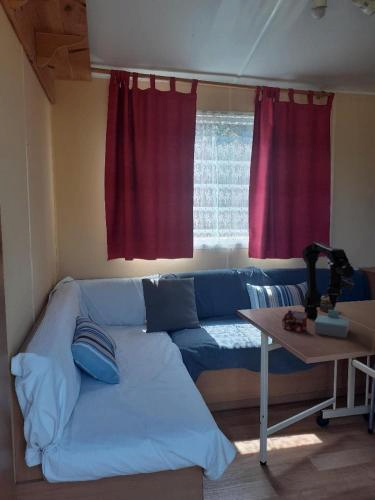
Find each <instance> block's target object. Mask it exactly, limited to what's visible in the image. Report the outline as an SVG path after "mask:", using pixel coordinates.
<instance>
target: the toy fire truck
mask: <svg viewBox="0 0 375 500" xmlns="http://www.w3.org/2000/svg"><path fill="white" fill-rule="evenodd" d="M307 317H308V314H307V313H306V312H305V311H296V310H294V311H293V310H291V309H289V310H288V311H287V312H286V313H285V314H284V316H283V318H282V321H281V322H282V323H281V324H282V325H281V326H282V327H284V330H286V331H290V332H291V331H293V329H294V332H296V333H303V331H305V330H307V327H308V326H307V322H308V321H307V319H308V318H307Z"/></svg>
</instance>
